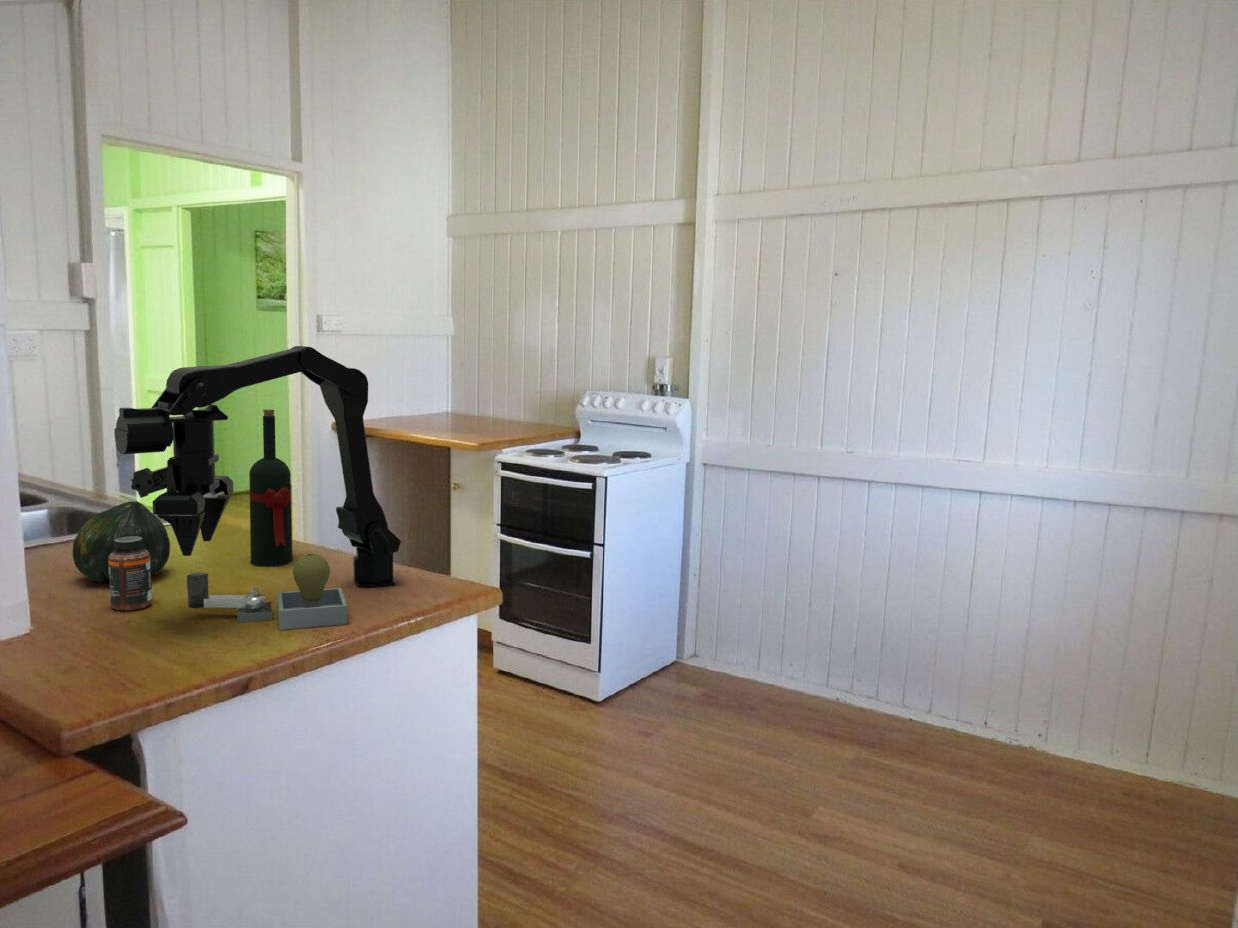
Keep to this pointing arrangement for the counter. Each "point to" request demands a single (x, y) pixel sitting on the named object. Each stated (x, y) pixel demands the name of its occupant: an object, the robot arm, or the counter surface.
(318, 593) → the light bulb
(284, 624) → the tray
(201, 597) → the crank
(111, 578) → the supplement bottle
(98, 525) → the squash
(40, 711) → the counter surface
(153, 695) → the counter surface
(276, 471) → the wine bottle
